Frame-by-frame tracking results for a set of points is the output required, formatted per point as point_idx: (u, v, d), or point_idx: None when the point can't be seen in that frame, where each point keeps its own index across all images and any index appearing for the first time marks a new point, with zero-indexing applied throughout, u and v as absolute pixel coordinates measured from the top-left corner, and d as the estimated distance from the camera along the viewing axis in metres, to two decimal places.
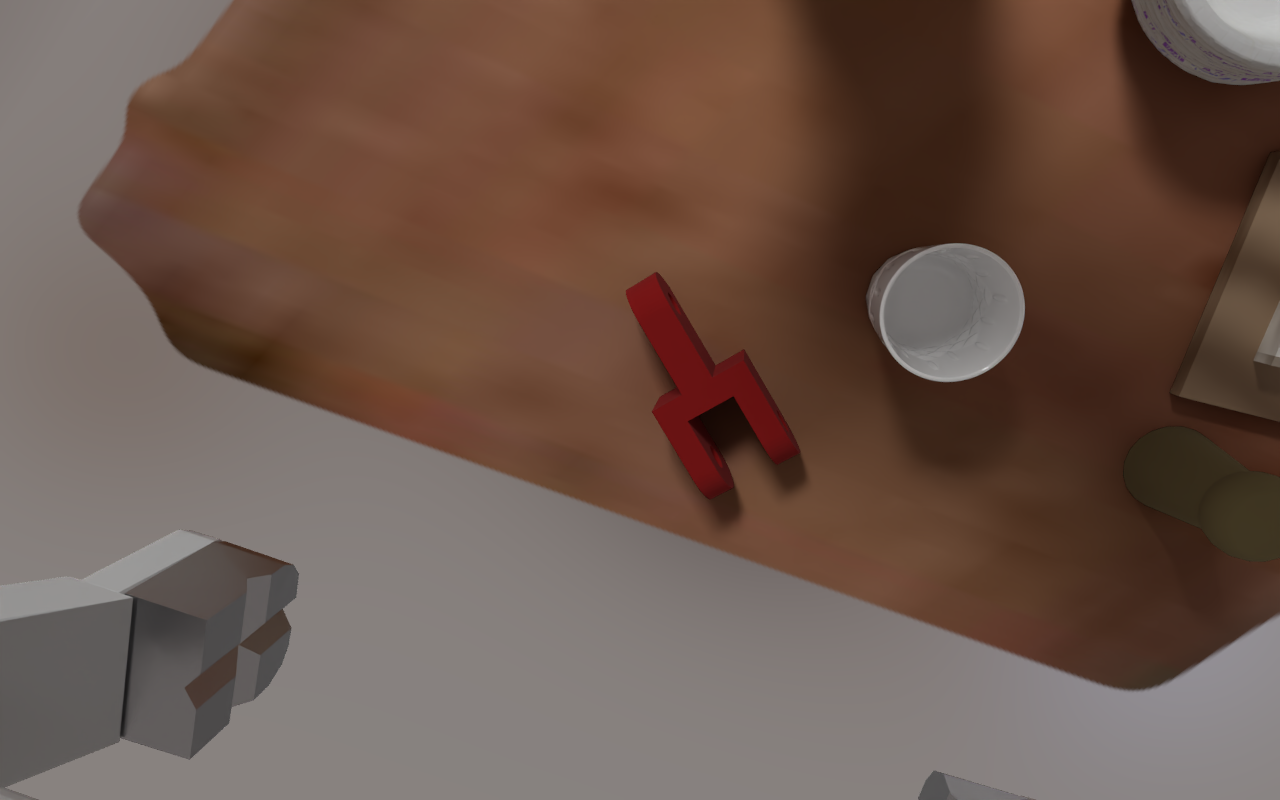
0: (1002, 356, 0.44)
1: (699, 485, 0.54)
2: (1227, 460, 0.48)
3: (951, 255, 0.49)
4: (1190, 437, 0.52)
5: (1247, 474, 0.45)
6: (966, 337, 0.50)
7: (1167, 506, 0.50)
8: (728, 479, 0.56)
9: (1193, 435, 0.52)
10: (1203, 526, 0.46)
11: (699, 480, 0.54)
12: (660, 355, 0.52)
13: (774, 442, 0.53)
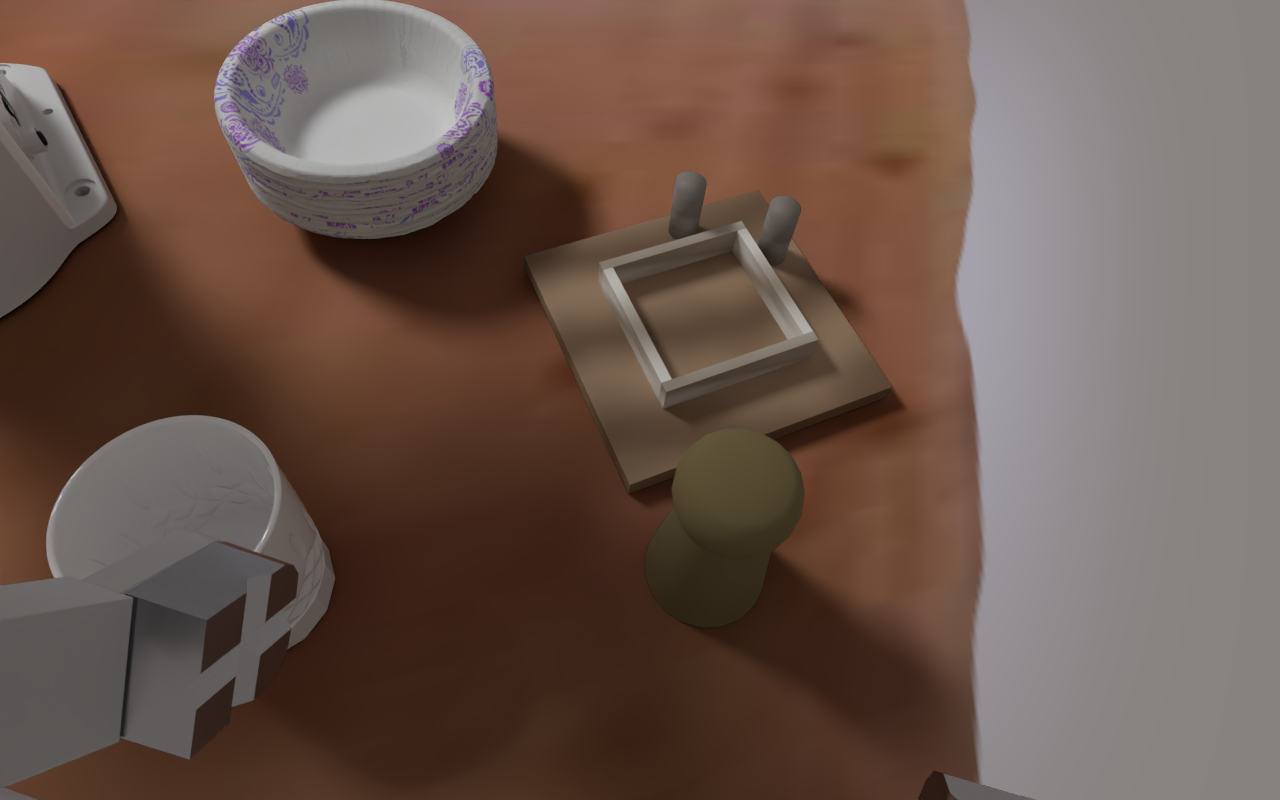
0: (273, 514, 0.28)
1: None
2: None
3: (217, 489, 0.34)
4: None
5: None
6: None
7: (701, 585, 0.34)
8: None
9: None
10: (703, 544, 0.30)
11: None
12: None
13: None
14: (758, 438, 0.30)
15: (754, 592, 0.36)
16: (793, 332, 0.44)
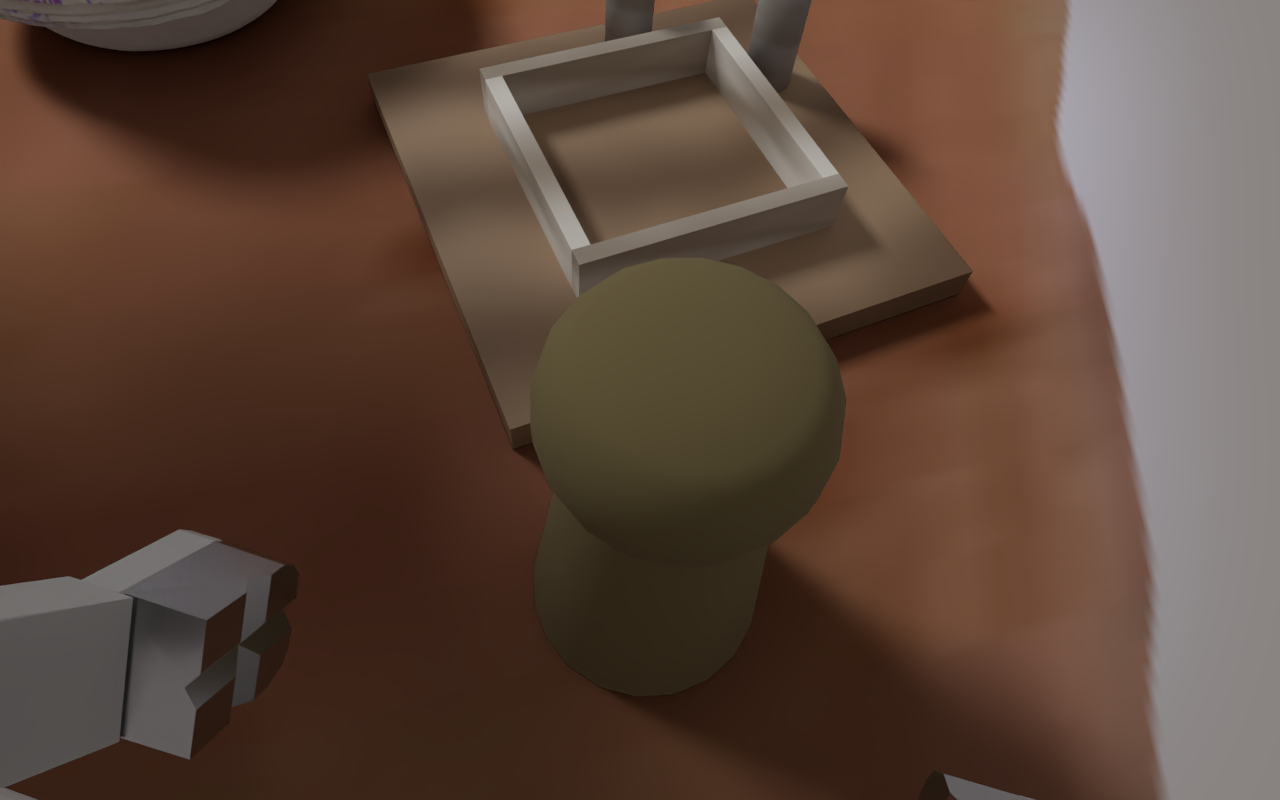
0: None
1: None
2: None
3: None
4: None
5: None
6: None
7: (621, 621, 0.16)
8: None
9: None
10: (598, 531, 0.12)
11: None
12: None
13: None
14: (734, 275, 0.13)
15: (735, 630, 0.18)
16: (805, 182, 0.26)
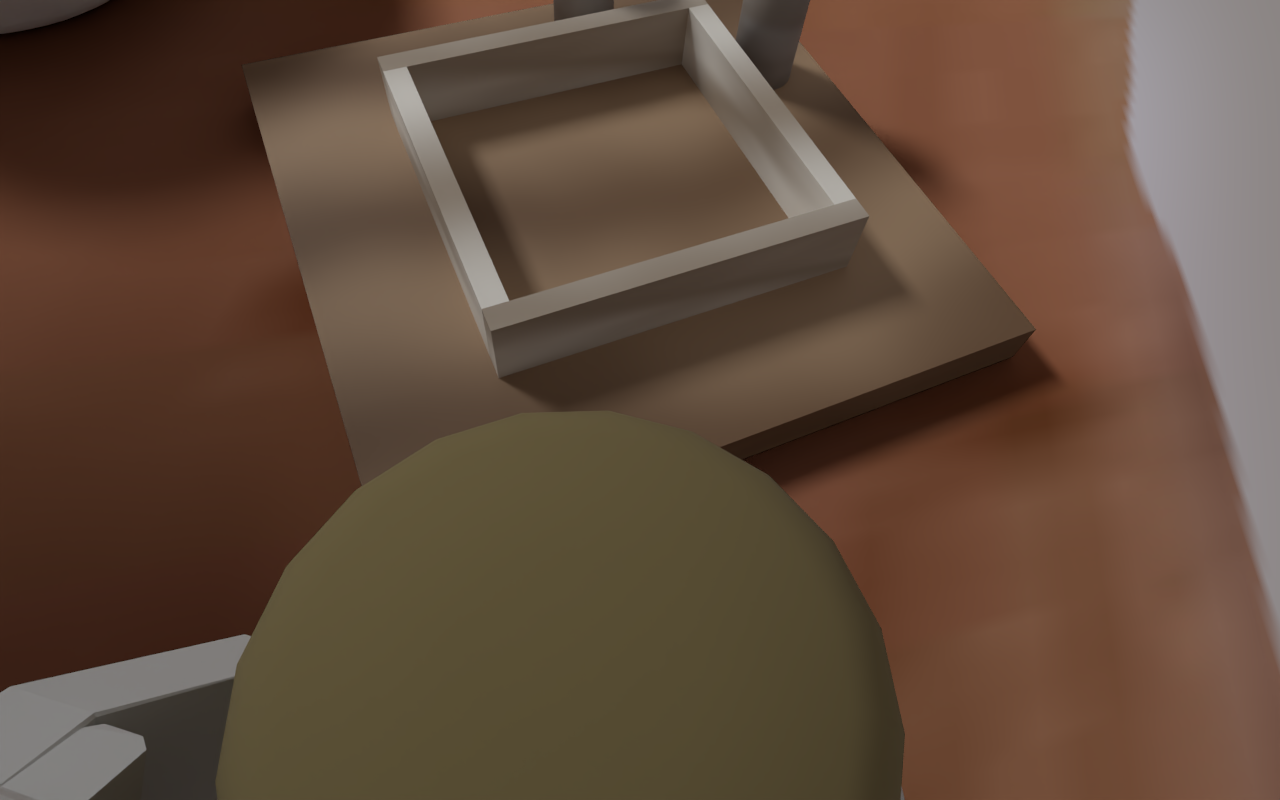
0: None
1: None
2: None
3: None
4: None
5: None
6: None
7: None
8: None
9: None
10: None
11: None
12: None
13: None
14: (667, 461, 0.06)
15: None
16: (810, 208, 0.19)
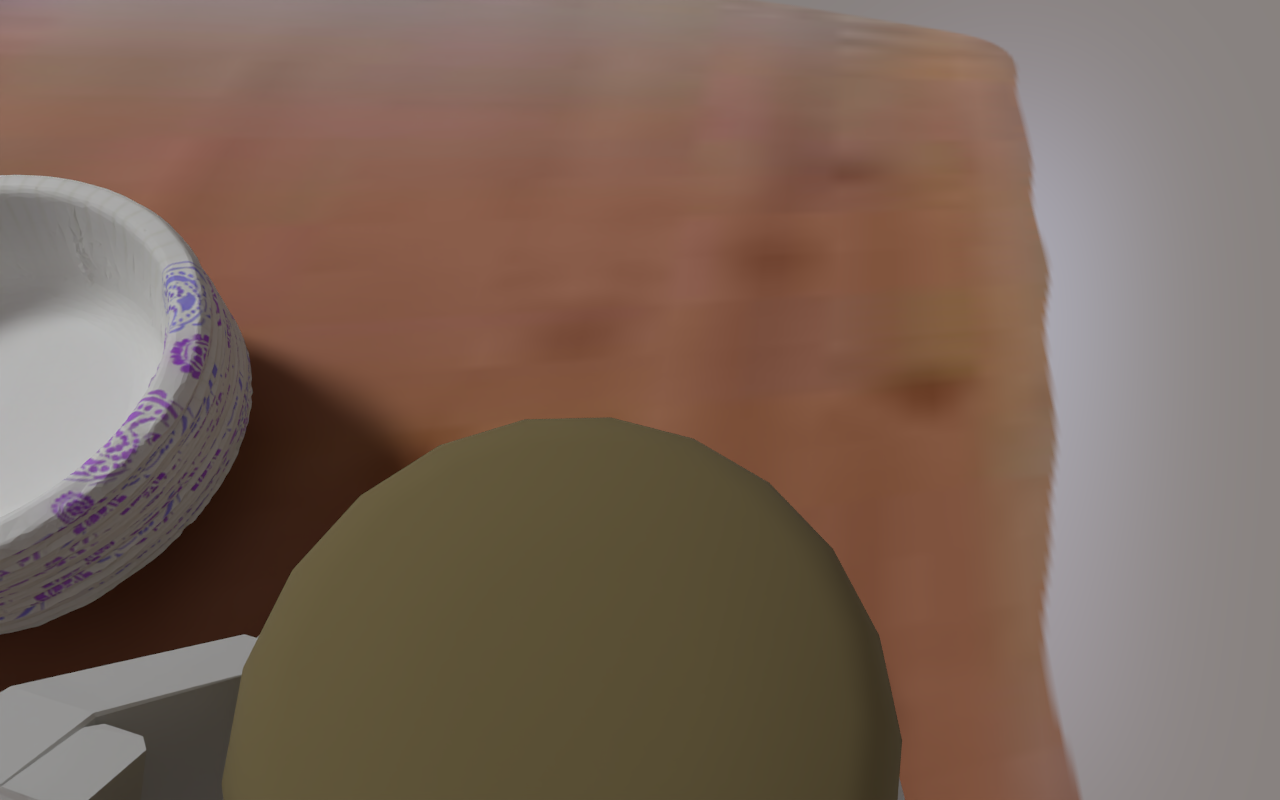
0: None
1: None
2: None
3: None
4: None
5: None
6: None
7: None
8: None
9: None
10: None
11: None
12: None
13: None
14: (668, 469, 0.06)
15: None
16: None
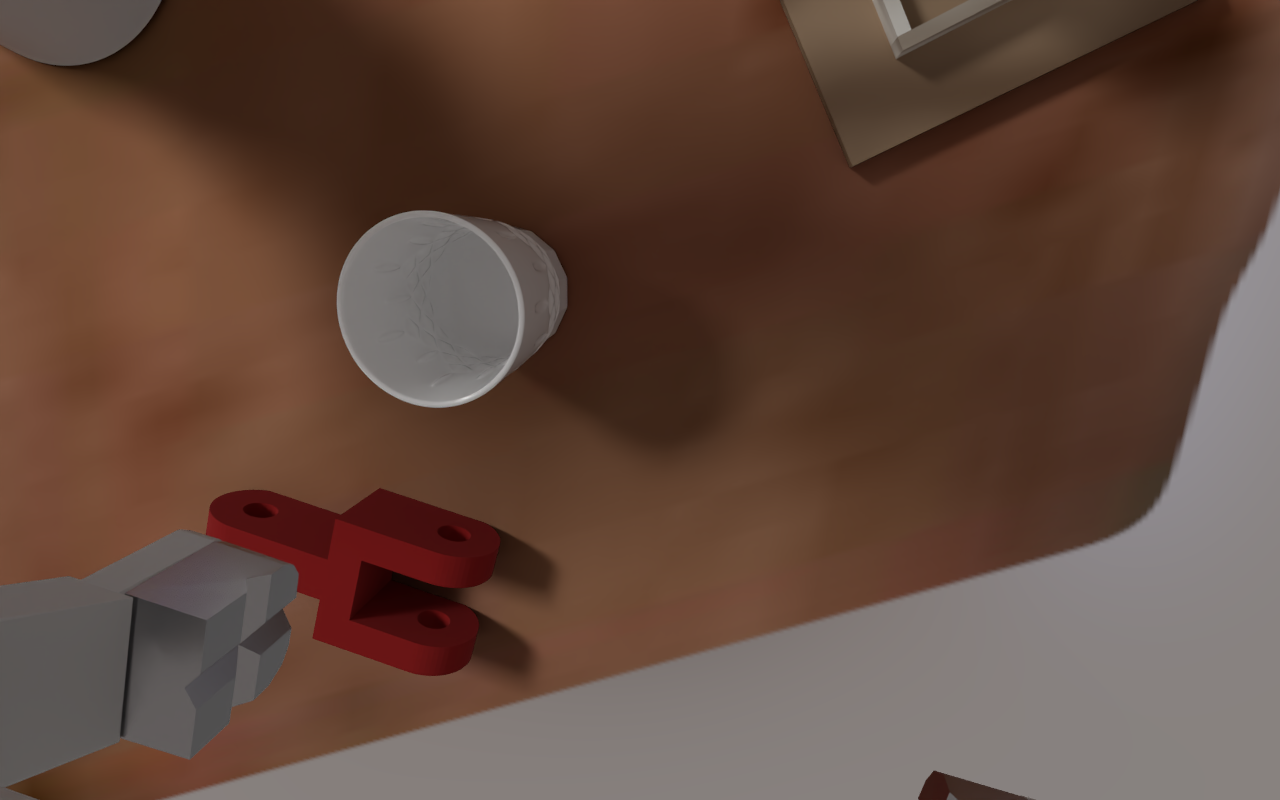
0: (520, 311, 0.31)
1: (421, 672, 0.41)
2: None
3: (446, 232, 0.36)
4: None
5: None
6: None
7: None
8: (460, 634, 0.42)
9: None
10: None
11: (415, 667, 0.41)
12: None
13: (440, 571, 0.40)
14: None
15: None
16: None
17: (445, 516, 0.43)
